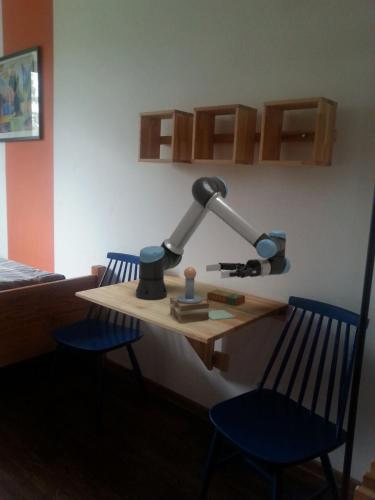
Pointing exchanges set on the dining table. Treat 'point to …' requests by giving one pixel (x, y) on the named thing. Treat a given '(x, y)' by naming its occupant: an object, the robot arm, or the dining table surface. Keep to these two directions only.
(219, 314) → the mat
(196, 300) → the arcade joystick
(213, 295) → the carton
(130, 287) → the dining table surface
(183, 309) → the box
